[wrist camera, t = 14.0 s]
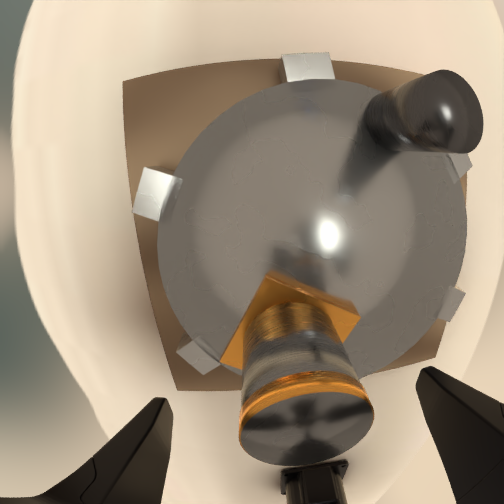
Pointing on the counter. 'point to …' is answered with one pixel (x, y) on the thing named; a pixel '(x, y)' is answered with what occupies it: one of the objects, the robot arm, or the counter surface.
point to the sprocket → (318, 212)
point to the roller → (299, 389)
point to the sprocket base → (177, 143)
